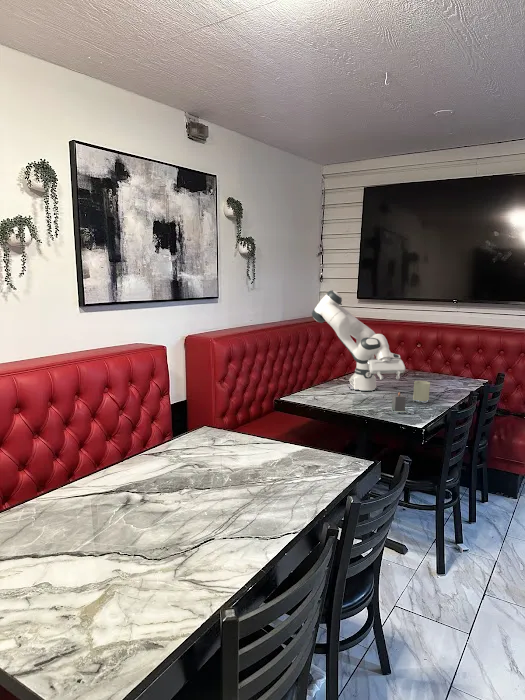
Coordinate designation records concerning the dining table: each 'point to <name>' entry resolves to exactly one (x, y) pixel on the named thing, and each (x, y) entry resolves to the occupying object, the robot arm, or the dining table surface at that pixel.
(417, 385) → the can
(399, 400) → the block
